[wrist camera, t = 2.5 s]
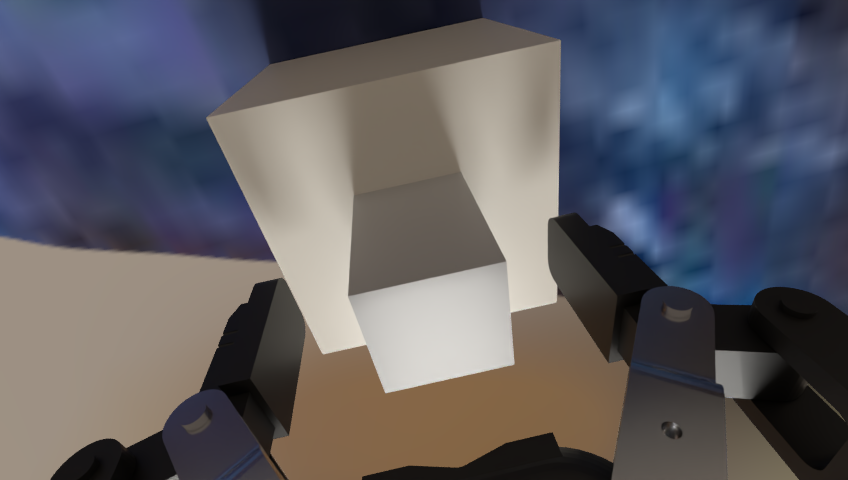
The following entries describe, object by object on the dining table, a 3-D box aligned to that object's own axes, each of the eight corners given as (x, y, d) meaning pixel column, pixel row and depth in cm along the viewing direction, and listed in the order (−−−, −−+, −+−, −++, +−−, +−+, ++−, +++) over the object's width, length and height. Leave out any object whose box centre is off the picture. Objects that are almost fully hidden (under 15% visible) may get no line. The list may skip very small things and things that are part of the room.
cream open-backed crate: (483, 17, 18) (678, 73, 7) (498, 205, 24) (619, 407, 13) (269, 64, 18) (109, 198, 7) (335, 241, 24) (308, 477, 13)
